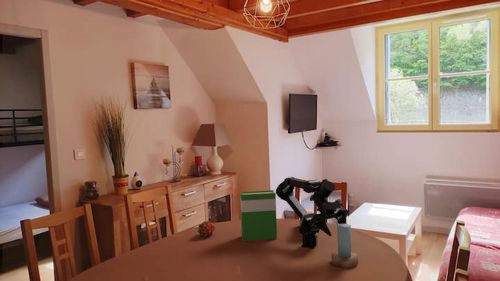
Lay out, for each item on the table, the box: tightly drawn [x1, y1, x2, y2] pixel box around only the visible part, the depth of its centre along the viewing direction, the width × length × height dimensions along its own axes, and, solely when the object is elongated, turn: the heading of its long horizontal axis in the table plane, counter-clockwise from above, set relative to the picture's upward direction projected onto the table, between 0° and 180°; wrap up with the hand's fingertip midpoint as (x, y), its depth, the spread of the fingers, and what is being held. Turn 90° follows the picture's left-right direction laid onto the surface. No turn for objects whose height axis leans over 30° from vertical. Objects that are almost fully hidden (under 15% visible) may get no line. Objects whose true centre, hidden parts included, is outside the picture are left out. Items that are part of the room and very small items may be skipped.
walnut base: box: [331, 250, 359, 269], centre depth 159 cm, size 11×11×3 cm
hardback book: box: [239, 189, 278, 242], centre depth 194 cm, size 18×7×24 cm, turn 96°
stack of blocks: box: [299, 207, 313, 238], centre depth 203 cm, size 21×6×12 cm, turn 171°
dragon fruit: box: [197, 220, 216, 238], centre depth 201 cm, size 8×8×12 cm
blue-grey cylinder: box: [336, 223, 352, 258], centre depth 158 cm, size 6×6×13 cm
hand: (339, 233), depth 161 cm, fingers open, 9 cm apart
